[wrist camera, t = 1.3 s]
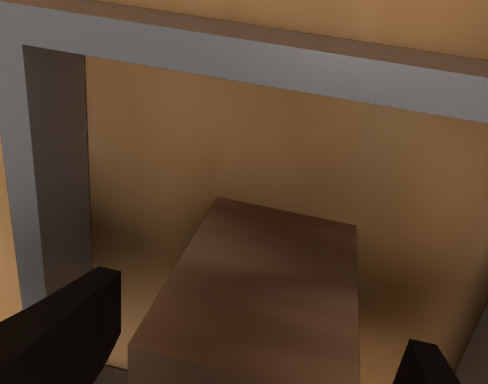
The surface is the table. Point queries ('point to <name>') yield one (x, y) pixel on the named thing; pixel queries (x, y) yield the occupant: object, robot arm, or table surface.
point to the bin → (185, 60)
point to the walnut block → (255, 304)
